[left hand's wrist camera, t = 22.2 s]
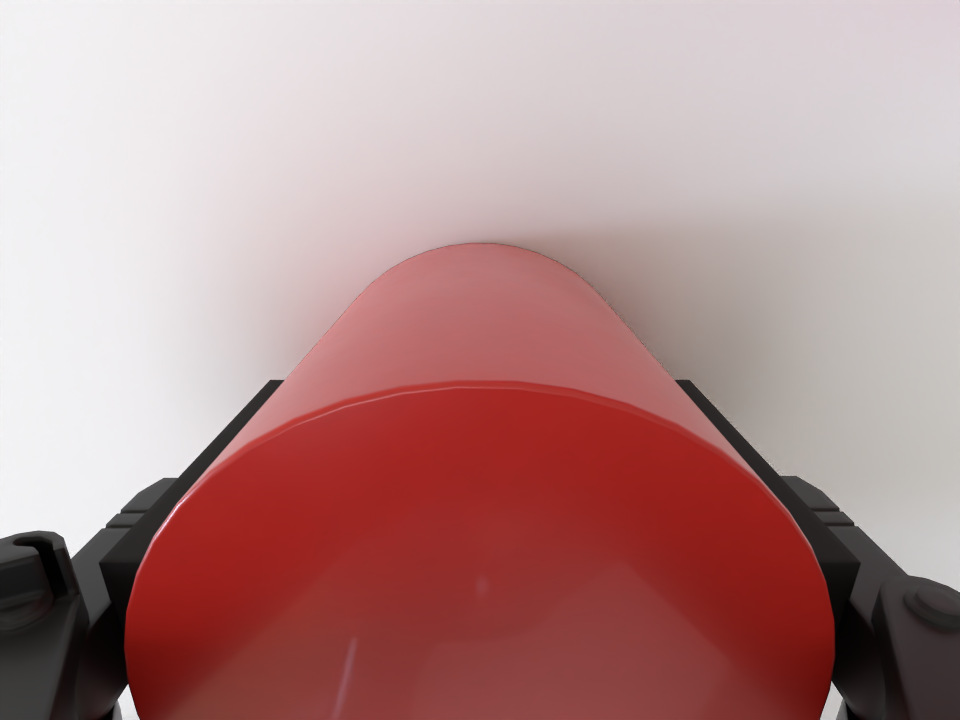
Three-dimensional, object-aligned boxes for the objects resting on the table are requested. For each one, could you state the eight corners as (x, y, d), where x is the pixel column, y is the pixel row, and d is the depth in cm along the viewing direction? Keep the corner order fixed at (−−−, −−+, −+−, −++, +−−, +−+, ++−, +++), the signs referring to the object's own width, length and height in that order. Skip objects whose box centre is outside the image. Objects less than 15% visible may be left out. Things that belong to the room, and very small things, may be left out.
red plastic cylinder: (280, 456, 16) (50, 801, 8) (402, 179, 14) (261, 219, 5) (538, 564, 18) (594, 959, 9) (696, 335, 15) (1002, 584, 6)
